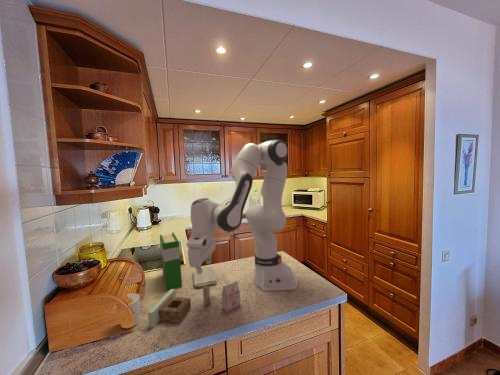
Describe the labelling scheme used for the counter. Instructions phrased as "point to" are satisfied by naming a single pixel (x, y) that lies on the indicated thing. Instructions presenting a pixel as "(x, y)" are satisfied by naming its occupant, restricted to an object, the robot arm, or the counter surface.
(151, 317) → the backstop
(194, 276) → the washcloth
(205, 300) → the dowel
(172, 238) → the hardback book
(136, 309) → the white cup
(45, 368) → the counter surface
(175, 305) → the block
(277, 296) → the counter surface
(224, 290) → the tea bag
